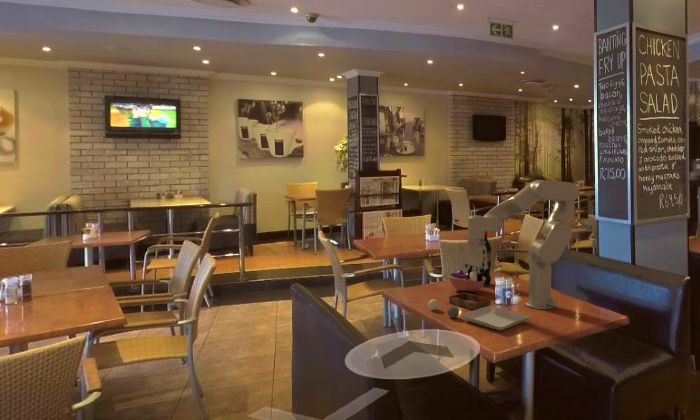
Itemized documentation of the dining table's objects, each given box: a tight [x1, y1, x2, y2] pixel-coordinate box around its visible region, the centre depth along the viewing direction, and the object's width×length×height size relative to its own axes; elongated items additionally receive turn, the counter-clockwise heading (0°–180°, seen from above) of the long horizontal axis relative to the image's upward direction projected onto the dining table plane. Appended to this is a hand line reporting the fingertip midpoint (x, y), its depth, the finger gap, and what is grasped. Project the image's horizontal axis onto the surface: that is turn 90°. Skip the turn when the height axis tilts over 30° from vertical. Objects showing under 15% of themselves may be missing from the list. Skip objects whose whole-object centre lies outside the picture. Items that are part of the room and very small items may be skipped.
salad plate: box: [460, 305, 531, 331], centre depth 210 cm, size 21×21×3 cm
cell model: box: [447, 269, 486, 293], centre depth 257 cm, size 17×20×11 cm
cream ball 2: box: [470, 270, 478, 281], centre depth 230 cm, size 5×5×5 cm
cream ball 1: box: [427, 298, 440, 311], centre depth 227 cm, size 5×5×5 cm
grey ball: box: [446, 305, 460, 319], centre depth 216 cm, size 5×5×5 cm
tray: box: [448, 291, 492, 311], centre depth 234 cm, size 16×11×4 cm
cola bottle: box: [475, 231, 492, 286], centre depth 270 cm, size 8×8×30 cm
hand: (474, 279), depth 230 cm, fingers closed on cream ball 2, 4 cm apart
